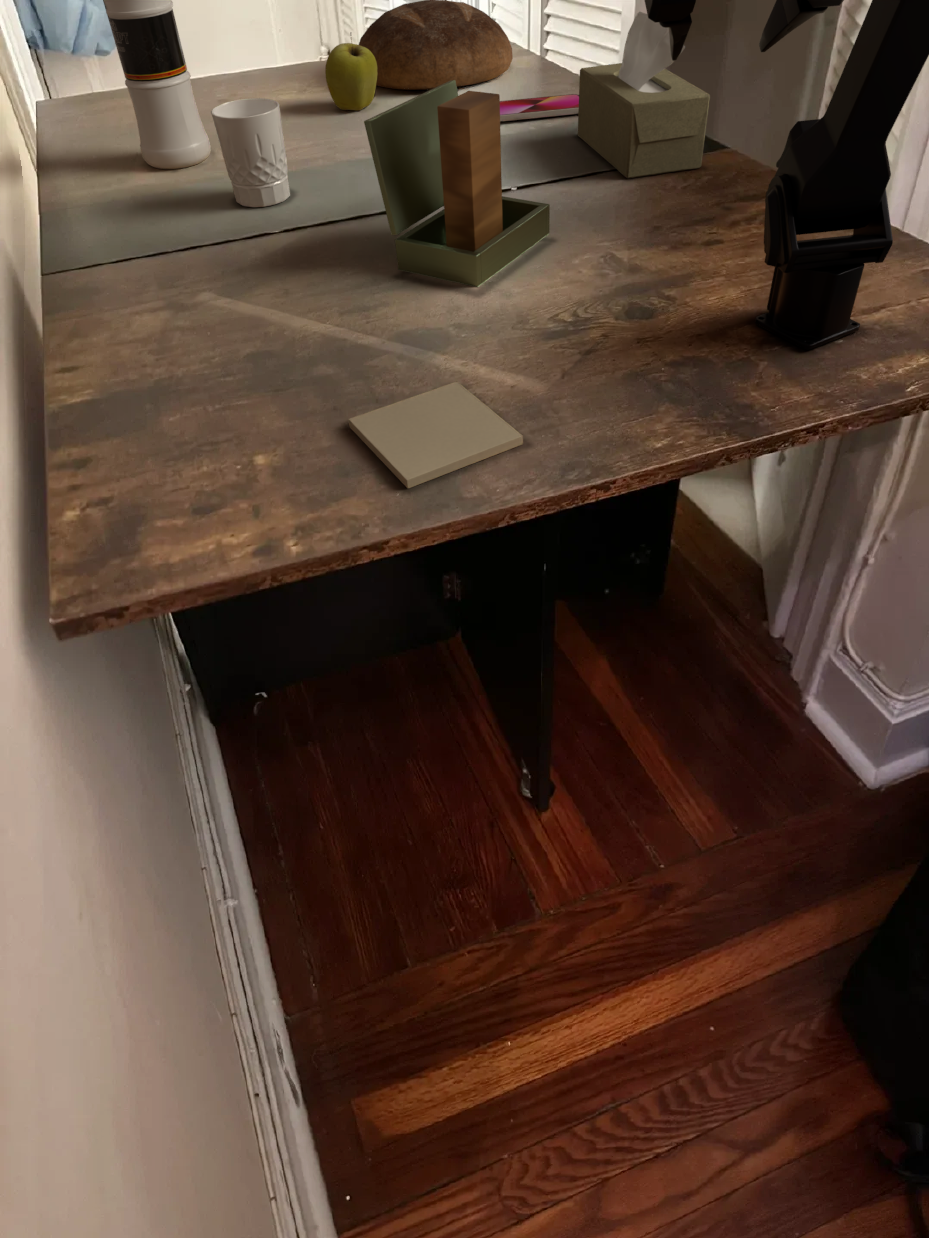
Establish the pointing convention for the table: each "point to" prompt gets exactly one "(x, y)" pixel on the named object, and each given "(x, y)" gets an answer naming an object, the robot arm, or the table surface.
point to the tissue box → (643, 108)
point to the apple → (351, 76)
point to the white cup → (253, 150)
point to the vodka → (158, 83)
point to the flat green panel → (409, 157)
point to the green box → (433, 258)
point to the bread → (436, 45)
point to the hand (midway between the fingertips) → (717, 52)
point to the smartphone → (539, 107)
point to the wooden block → (471, 168)
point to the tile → (434, 433)
